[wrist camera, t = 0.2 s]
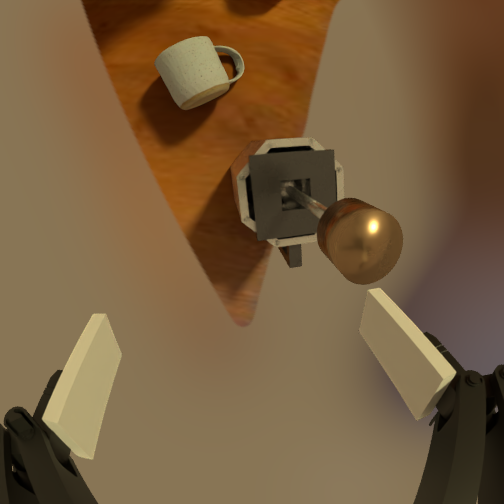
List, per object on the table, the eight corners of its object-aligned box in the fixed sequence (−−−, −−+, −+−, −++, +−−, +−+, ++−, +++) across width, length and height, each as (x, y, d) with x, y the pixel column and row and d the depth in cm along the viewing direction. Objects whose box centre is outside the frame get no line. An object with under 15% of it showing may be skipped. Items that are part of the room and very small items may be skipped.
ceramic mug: (184, 116, 33) (177, 109, 26) (159, 70, 30) (147, 54, 23) (253, 84, 33) (263, 70, 26) (228, 39, 30) (232, 17, 23)
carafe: (227, 143, 36) (232, 143, 23) (304, 137, 36) (344, 136, 24) (239, 239, 41) (249, 281, 29) (310, 229, 42) (346, 265, 30)
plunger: (249, 157, 27) (297, 178, 11) (319, 152, 28) (430, 173, 12) (256, 227, 30) (302, 325, 14) (322, 218, 31) (416, 297, 15)
